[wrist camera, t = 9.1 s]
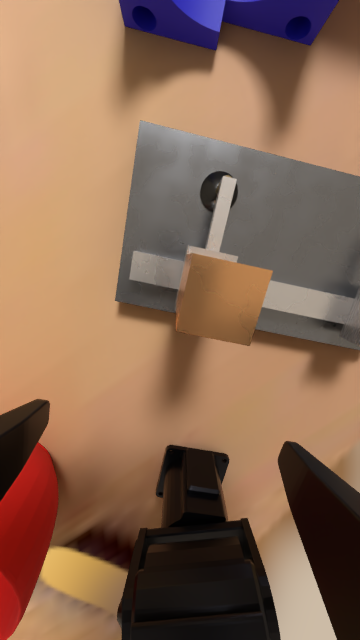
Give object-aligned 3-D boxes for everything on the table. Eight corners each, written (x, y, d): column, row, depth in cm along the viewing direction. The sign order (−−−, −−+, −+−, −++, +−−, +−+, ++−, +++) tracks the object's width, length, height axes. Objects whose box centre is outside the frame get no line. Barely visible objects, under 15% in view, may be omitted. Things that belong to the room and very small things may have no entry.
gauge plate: (362, 346, 21) (416, 373, 16) (119, 297, 19) (101, 310, 15) (426, 203, 18) (516, 185, 13) (143, 132, 16) (129, 82, 12)
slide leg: (213, 309, 18) (246, 357, 9) (174, 301, 18) (173, 343, 9) (243, 190, 16) (321, 114, 7) (200, 180, 15) (228, 89, 7)
